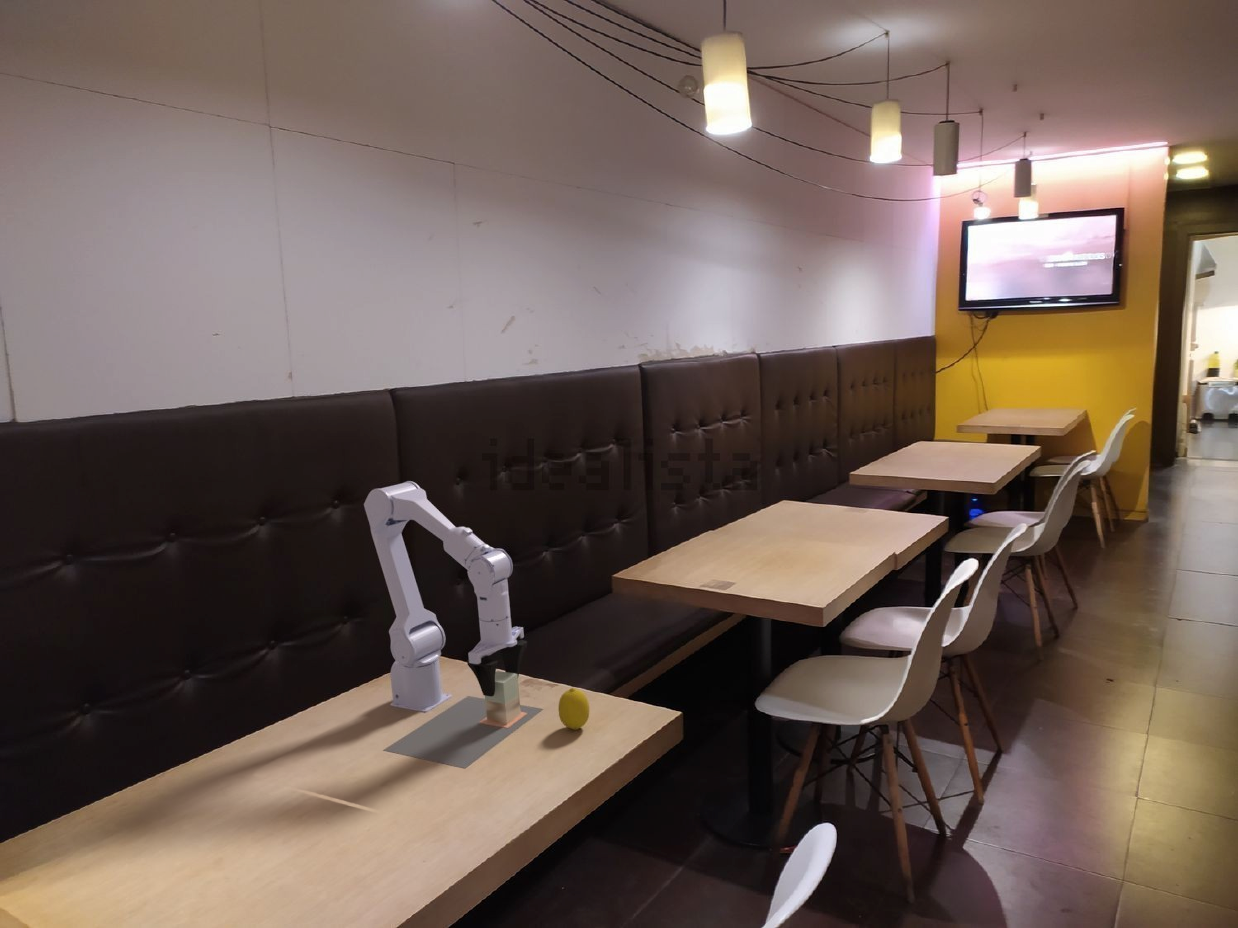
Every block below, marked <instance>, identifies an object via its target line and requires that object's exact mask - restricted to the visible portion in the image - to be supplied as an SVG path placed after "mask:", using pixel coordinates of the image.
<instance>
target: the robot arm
mask: <svg viewBox="0 0 1238 928" xmlns="http://www.w3.org/2000/svg"><path fill="white" fill-rule="evenodd" d="M427 497H428V496H427V492H426V490H424V489H423V488H421V487H420V485H418V484H417V483H416V482H414V481H411V480H407V481H404V482H402V483H398V484H394V485H390V486H385V487H381V488H373V489H371V491H370V492H369V493H368V495H367V497H366V499H365V500H364V501H365V502H364V503H363V506H364V511H365V514H366V516H367V521H368V522H369V527H370V533H371V537H372V540H373V543H374V546H375V549H376V550H375V551H376V553H377V556H378V559H379V563H380V567H381V569H382V572H383V576H384V579H385V583H386V586H387V589H388V592H389V593H388V594H389V596H390V600H391V603H392V606H393V609H394V613H395V616H396V617H395V619H394V620H393V623H392V625H391V626H390V628H389V630H388V634H389V637H390V652H391V654H392V657H393V659H394V660H395V661H394V662H393V664H391V665H392V666H391V668H390V676H389V677H390V685H391V694H392V695H391V696H392V702H391V703H390V704H389V705H390V707H391V706H392V707H395V708H400V709H405V710H412V711H416V712H422V713H428V712H430V711H432V710H433V709H435V708H436V707H438V706H440V705H441V704H443V703H444V702H446V701H448V700H449V699H451V698H452V697H453V695H452V694H448V693H443V689H442V688H443V687H442V679H441V678H442V677H441V667H440V659H439V658H440V656H441V655H442V652H441V651H442V649H443V648H444V647H445V645H446V634H445V631H444V628H443V627H442V625H440V623H439V621H438V619H437V615H436V613H434V612H432V611H430V610H428V609H426V608H424V607H425V606H424V604H423V600H422V596H421V593H420V591H419V587H418V584H417V582H416V578H415V575H414V570H413V568H412V565H411V560H410V558H409V553H408V551H407V547H406V545H405V541H404V538H403V535H402V533H403V530H404V528H405V526H406V524H408V522H409V521H410V520H411V521H414V522H416V523H418V524H419V525H420V526H422V528H425V529H426V530H427V531H428V532H430V533H432V535H433V536H436V537H437V538H438V539H440V540H441V541H442V542H443V543H442V544H443V550H444V551H445V552H446V553H447V554H448V555H449V556H451V557H452V559H454V560H455V561H456V562H457V563H459V564H460V565H461V566H462V567H464V568H465V569H466V570H467V576H468V580H469V581H470V583H471V584H472V586H473V589H474V594H475V596H476V599H477V600H476V601H477V610H478V622H479V623H478V624H479V632H480V634H479V635H480V641H479V642H478V643H477V644H476V645H475V646H474V648H473V649H472V650H471V651H469V652H468V655H467V656H468V659H467V660H466V662H467V667H469V668H470V670H471V671H472V673H473V675H474V676H475V678H476V680H477V682H478V684H479V687H480V690H481V692H482V695H483V696H484V697H485V696H491V697H492V696H494V694H495V672H497V667H498V665H499V664H498V663H499V661H498V660H492V659H491V657H490V658H489V656H491V655H492V654H494V653H496V652H497V651H500V653H501V656H502V659H503V665H504V672H508V673H515V674H517V675H518V678H519V676H520V669H521V665H522V660H523V656H524V654H525V651H526V648H527V646H528V641H527V640H523V638H524V637H525V634H524V627H523V626H522V627H521V626H513V627H512V618H511V607H510V605H511V604H510V596H509V583H508V578H509V577H510V576H511V575H512V574H513V570H514V569H513V568H514V567H513V566H514V565H513V560H512V558H511V556H510V555H509V554H508V553H507V552H506V550H504V549H503V548H494V547H492V546H490V545H489V544H487V543H485V542H484V541H483V540H481V538H479V537H478V536H477V535H476V534H475V533H473V529H471V528H470V527H466V526H458V527H457V526H455V525H454V524H453V523H452V522H451V521H450V520H449V519H448V518H447V516H445V515H444V514H443V513H442V512H441V511H439V509H437V507H436V506H434V504H432V502H431V501H430V500H428V498H427Z"/></svg>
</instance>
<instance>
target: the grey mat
mask: <svg viewBox="0 0 1238 928" xmlns="http://www.w3.org/2000/svg"><path fill="white" fill-rule="evenodd" d="M520 710H521V715H520V716H518V717H517V718H515V719H514V720H513V721H511V722H510V723H509V724H507V725H506V724H501V723H495V722H490V721H487V714H486V703H485V698H481V697H476V696H471V695H467V696H465V698H462V699H461V700H459V701H458V702H456V703H455V704H453V705H451V706H450V707H449V708H447V709H445V710H444V711H442V712H440V713H439V714H437V715H436V716H434V717H432V718H431V719H429V720H427V722H425V723H424V724H422V725H420V726H418V727H417V728H416V729H415V728H414V730H412V731H411V732H409V733H407V734H406V735H404V736H403V737H402V738H400V739H398V740H397V741H395V742H393V744H391V745H389V746H387V747H386V748H385V749H383V752H384V751H385V752H389V753H394V754H399V755H403V756H407V757H412V758H416V759H421V760H425V761H429V762H433V763H438V764H443V765H447V766H451V767H457V768H461V769H467V768H468V767H469V766H470V765H472V764H473V763H475V762H476V761H477V760H479V759H480V758H481V757H482V756H484V755H485V754H486V753H488V752H489V751H490V750H492V749H493V748H494V747H495V746H497V745H498V744H500V743H501V742H502V741H504V740H505V739H506V738H507V737H509V736H510V735H512V734H513V733H514V732H515V731H517V730H518V729H520V728H521V727H522V726H523V725H525V724H526V723H528V722H529V721H530V720H531V719H533V718H534V717H536V716H537V715H538V714H539V713H540V712H542V711H543V710H544V708H542V707H540V708H539V707H536V706H535V707H534V706H529V705H523V704H520Z"/></svg>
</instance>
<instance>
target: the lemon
mask: <svg viewBox="0 0 1238 928" xmlns="http://www.w3.org/2000/svg"><path fill="white" fill-rule="evenodd" d="M559 698H560V699H559V702H558V716H559V719H560V721H561V723H562V725H564V726H565V727H567V728H568V729H572V730H573V731H577V730H579V729H580V728H582V727H583V726H584V725H586V723H588V719H589V717H590V703H589V700H588V697H587V695H586V694H585V693H584V692H583V691H582V690H580V689H577V688H574V687H570V689H568V690H566V691H565V692H564V693H562V695H561V697H559Z"/></svg>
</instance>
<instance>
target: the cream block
mask: <svg viewBox="0 0 1238 928" xmlns="http://www.w3.org/2000/svg"><path fill="white" fill-rule="evenodd" d="M485 703H486V714H487V721H490V722H495V723H501V724H506V725H507V724H509V723H510V722H511V721H513V720H514V719H515V718H517V717H518V716H520V715H521V710H520V705H521V699H520V694H519V695H517V696H516V697H514V698H513V699H512V700H510V701H509V702H507V703H506V704H502V703H497V702H491V701H485Z"/></svg>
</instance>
